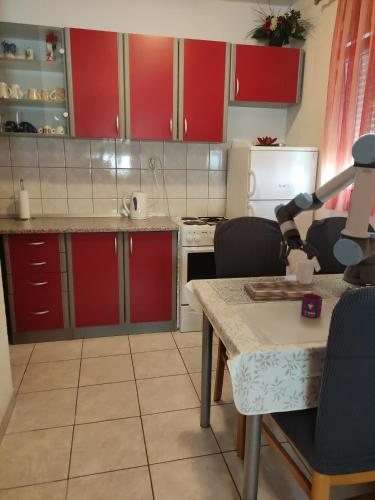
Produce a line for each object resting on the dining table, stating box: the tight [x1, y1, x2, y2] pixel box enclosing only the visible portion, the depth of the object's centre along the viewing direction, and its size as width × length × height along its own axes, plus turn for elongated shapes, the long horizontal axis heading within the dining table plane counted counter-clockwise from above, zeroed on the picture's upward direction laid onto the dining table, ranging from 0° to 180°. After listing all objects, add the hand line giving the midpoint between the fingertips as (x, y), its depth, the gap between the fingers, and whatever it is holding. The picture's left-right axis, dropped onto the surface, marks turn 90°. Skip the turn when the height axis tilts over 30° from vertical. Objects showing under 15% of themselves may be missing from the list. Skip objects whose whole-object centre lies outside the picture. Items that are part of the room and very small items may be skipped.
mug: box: [300, 292, 323, 319], centre depth 130 cm, size 7×10×7 cm
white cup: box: [295, 258, 315, 285], centre depth 165 cm, size 8×8×10 cm
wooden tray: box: [243, 279, 314, 301], centre depth 152 cm, size 24×17×3 cm
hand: (305, 271), depth 164 cm, fingers open, 13 cm apart
